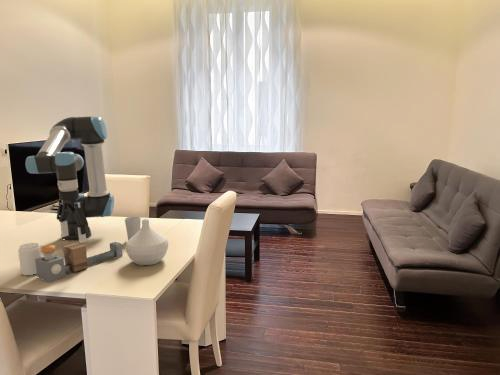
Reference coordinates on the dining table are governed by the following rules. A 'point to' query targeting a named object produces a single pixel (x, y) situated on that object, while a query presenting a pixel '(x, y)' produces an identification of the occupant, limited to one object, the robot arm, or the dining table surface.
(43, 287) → the dining table surface
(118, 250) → the rail
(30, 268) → the beverage can
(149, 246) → the vase
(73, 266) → the carriage
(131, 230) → the cup
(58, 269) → the housing
